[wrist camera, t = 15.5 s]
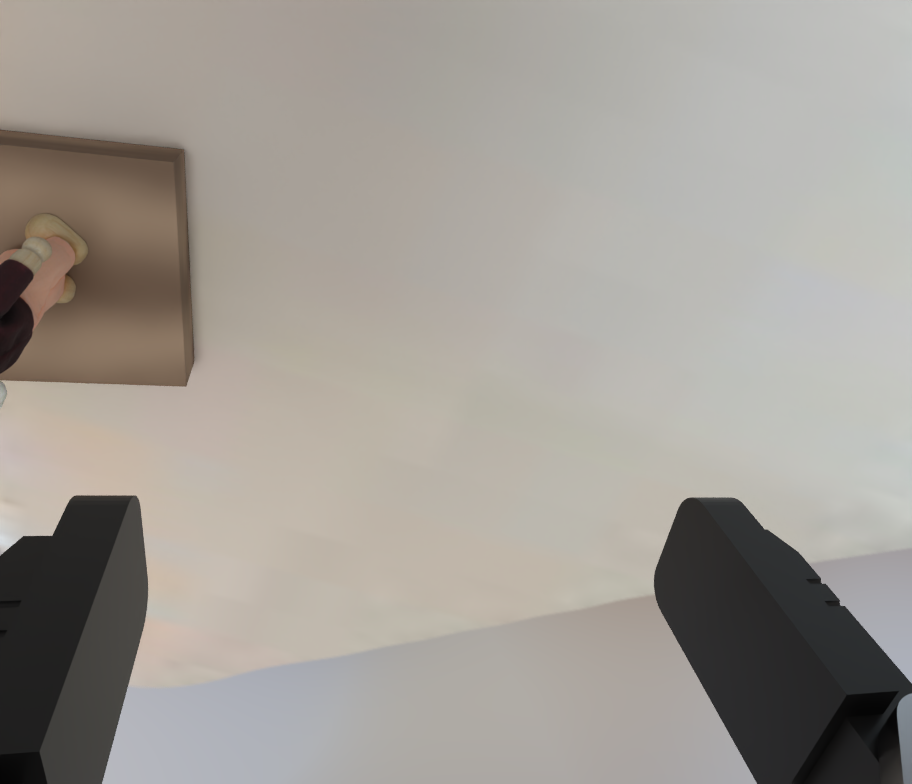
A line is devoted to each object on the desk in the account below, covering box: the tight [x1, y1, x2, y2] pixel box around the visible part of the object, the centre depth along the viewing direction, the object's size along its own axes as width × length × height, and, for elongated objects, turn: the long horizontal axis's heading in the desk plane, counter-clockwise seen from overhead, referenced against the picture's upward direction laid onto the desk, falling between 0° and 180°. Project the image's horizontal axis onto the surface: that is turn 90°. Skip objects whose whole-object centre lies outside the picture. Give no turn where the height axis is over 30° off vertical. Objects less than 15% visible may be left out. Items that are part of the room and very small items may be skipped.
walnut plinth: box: [0, 130, 194, 386], centre depth 35 cm, size 12×12×3 cm
